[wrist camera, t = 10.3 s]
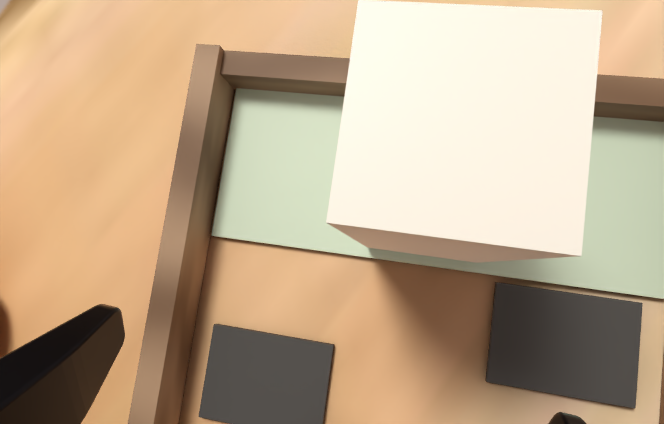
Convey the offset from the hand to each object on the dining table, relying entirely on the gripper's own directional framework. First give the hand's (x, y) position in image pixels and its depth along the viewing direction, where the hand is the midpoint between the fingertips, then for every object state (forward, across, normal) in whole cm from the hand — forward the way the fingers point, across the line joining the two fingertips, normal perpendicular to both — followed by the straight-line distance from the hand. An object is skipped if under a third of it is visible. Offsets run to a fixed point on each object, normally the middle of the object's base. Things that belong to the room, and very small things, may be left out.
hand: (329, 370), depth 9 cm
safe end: (+13, -3, +3) cm, 14 cm away
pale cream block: (+13, -3, +3) cm, 13 cm away
